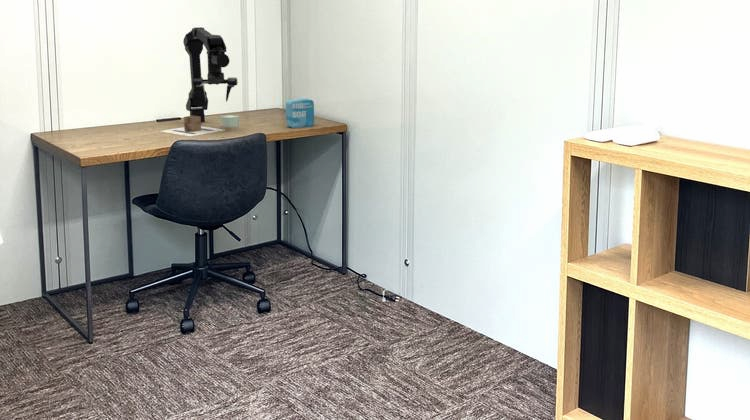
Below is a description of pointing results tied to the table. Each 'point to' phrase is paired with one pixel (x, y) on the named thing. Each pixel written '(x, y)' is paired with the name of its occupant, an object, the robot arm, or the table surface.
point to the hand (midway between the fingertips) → (215, 101)
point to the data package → (300, 113)
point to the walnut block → (192, 123)
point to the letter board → (188, 133)
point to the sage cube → (229, 121)
